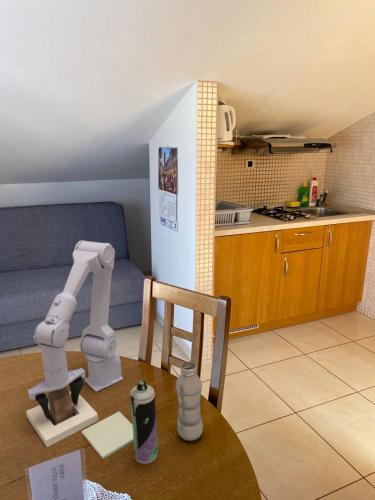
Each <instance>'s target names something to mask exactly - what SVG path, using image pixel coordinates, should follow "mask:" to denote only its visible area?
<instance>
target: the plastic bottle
mask: <svg viewBox="0 0 375 500" xmlns="http://www.w3.org/2000/svg"><path fill="white" fill-rule="evenodd" d="M197 371H198V370H197V365H196V363H195V362H193V361H183V362H182V363H181V365H180V374H179V376H178V377H177V378H176V382H175V389H176V393H177V394H176V395H177V402H178V403H177V404H178V416H177V421H176V430H177V433H178V435H179V436H180V438H182V439H183V440H185V441H189V442H192V441H195V440H198V439H199V438H200V437H201V436H202V433H203V428H204V424H203V420H202V415H201V398H202V397H201V396H202V389H203V382H202V380H201V378H200V376H199V375H198V374H197V373H198V372H197Z"/></svg>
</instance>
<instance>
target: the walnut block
mask: <svg viewBox="0 0 375 500" xmlns="http://www.w3.org/2000/svg"><path fill="white" fill-rule="evenodd" d="M69 392H70V391H69V390H68V389H67V388H66V386H65V387H64V388H61V389H58V390H53V391H49V392H48V393H47V398H48V400H49V407H50V414H51V415H50V419H51V420H52V421H53V422H52V423H53V424H55V425H57V424H59V423H61V422H63V421H65V420H67V419H69V418H71V417H73V416H75V415H74V411H73V407H72V399H71V394H70V393H69Z"/></svg>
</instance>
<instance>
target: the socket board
mask: <svg viewBox="0 0 375 500" xmlns="http://www.w3.org/2000/svg"><path fill="white" fill-rule="evenodd" d="M69 393H70V394H71V390H70V391H69ZM72 407H73V414H75V415H74V416H73V417H71V418H69V419H67V420H65V421H63V422H61V423H59V424H57V425H56V424H55V425H54V423H53V422H52V421H51V420H50V418H49V419H47V418H46V417H45V415H44V412H43V410H42V408H41V406H40V404H38V405H36V406H35V407H32V408H30V409H27V410H26V411H25V413H26V418H27V420H28V421H29V422H30V424H31V425H32V427H33V428H34V430H35V432H36V433H37V434H38V436H39V438H40V439H41V440H42V442H43V444H44V445H45V447H46V448H48V447H50V446H52V445H54V444H56V443H57V442H60V441H62V440H64V439H65V438H67V437H70V436H71V435H74V434H75V433H77V432H79V431H82V430H84V429H86V428H88V427H90V426H92V425H94V423H95V424H96V423H97V422H99V414H98V413H97V411H96V410H95V409H94V408H93V407H92V406H91V405H90V404H89V403H88V402H87V401H86V399H84V397H83V396H81V394H79V398H78V404H77V405H76V406H75V405H74V404H73V403H72ZM48 408H49V413H50V407H49V401H48ZM50 416H51V414H50Z"/></svg>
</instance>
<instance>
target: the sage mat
mask: <svg viewBox="0 0 375 500" xmlns="http://www.w3.org/2000/svg"><path fill="white" fill-rule="evenodd" d="M81 435H82V436H83V437H84V438H85V439H86V440H87V442H88V443H89V445H91V447H92V448H93V449H94V450H95V452H96V453H97V455H98V456H99V457H100V458H101V459H102V460H105V459H106V458H108V457H110V456H112V455H113V454H115V453H116V452H118V451H120V450H122V449H123V448H125V447H126V446H128V445H130V444H131V443H134V440H133V426H132V422H130V421H129V420H128V418H126V417H125V415H123V413H121V411H117V412H116V413H114V414H111V415H110V416H108V417H105V418H104V419H102V420H100V421H97V422H95V424H94V423H93V424H91V425H89V426H87V427H86V428H84V429H82V430H81Z"/></svg>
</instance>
